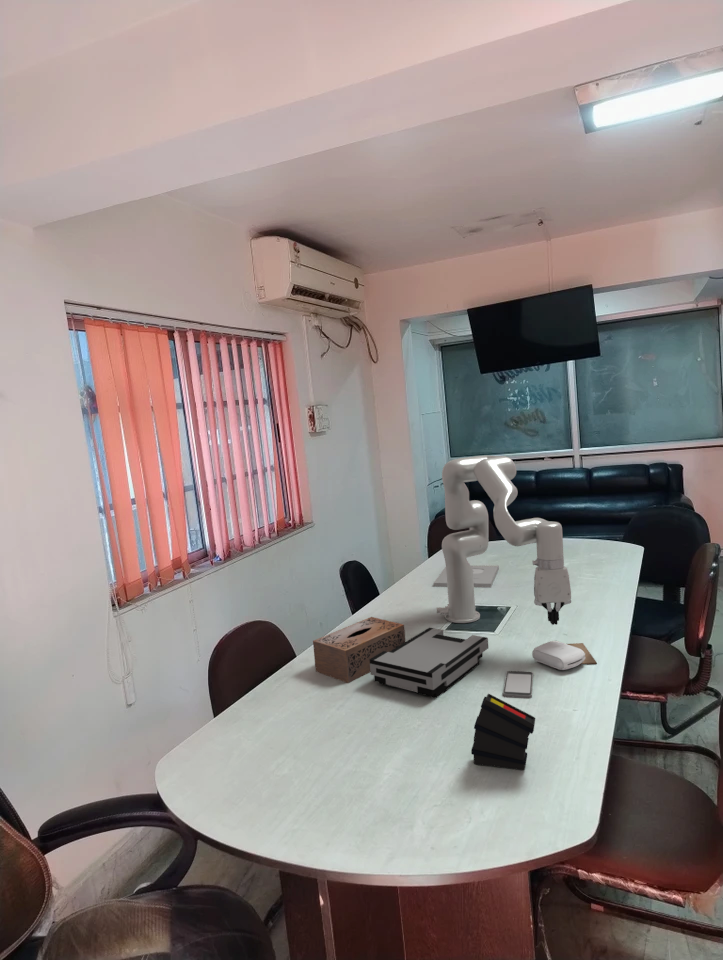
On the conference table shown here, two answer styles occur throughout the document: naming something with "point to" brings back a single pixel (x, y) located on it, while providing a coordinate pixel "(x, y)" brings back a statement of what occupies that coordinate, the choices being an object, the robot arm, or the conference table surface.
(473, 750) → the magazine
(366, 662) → the tissue box cover
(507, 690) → the smartphone
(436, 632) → the game console
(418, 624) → the conference table surface
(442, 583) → the award plaque
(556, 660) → the photo printer
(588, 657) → the board
